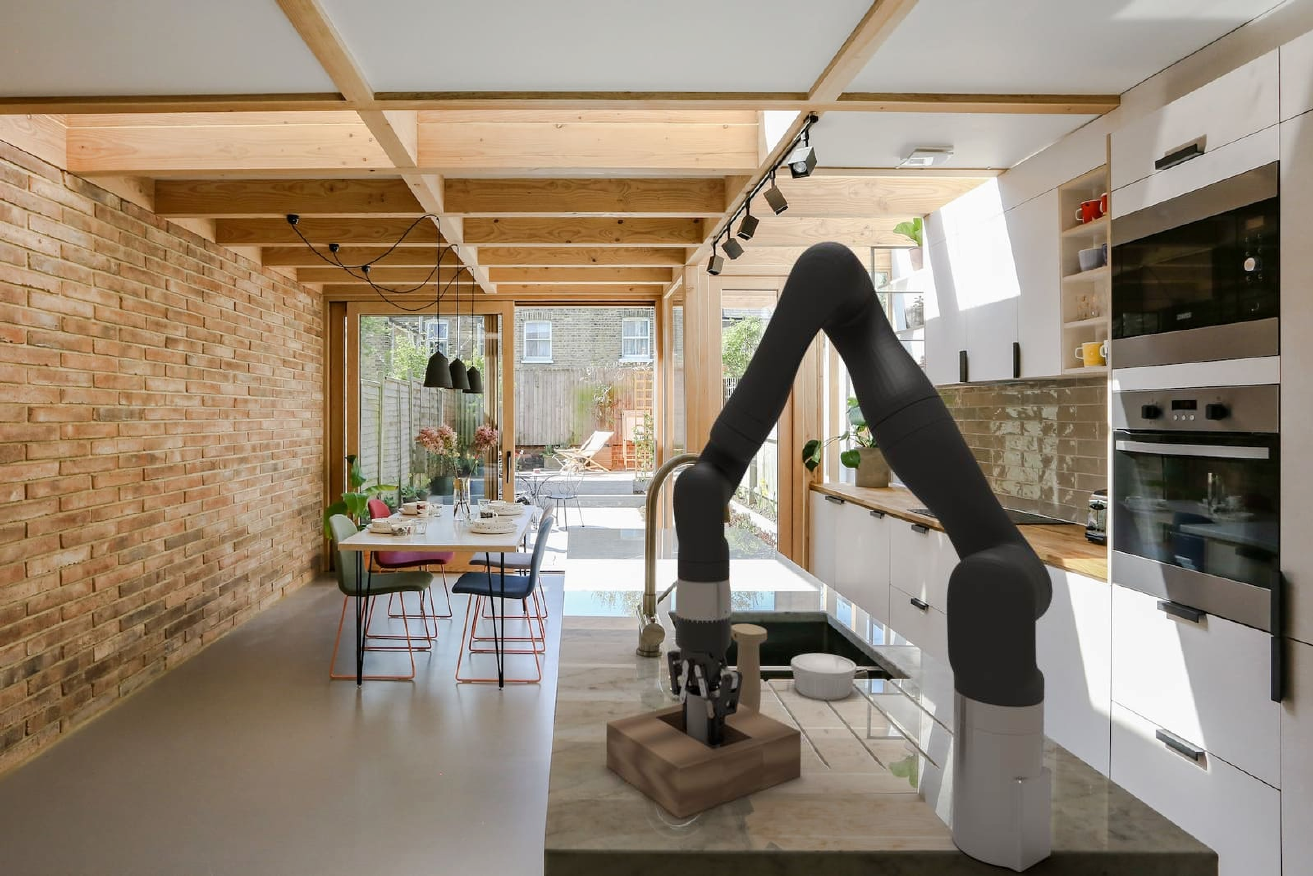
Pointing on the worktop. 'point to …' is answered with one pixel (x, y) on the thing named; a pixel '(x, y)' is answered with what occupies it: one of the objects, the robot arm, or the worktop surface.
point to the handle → (749, 662)
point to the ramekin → (823, 676)
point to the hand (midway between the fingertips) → (702, 736)
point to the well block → (702, 758)
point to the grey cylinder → (698, 716)
